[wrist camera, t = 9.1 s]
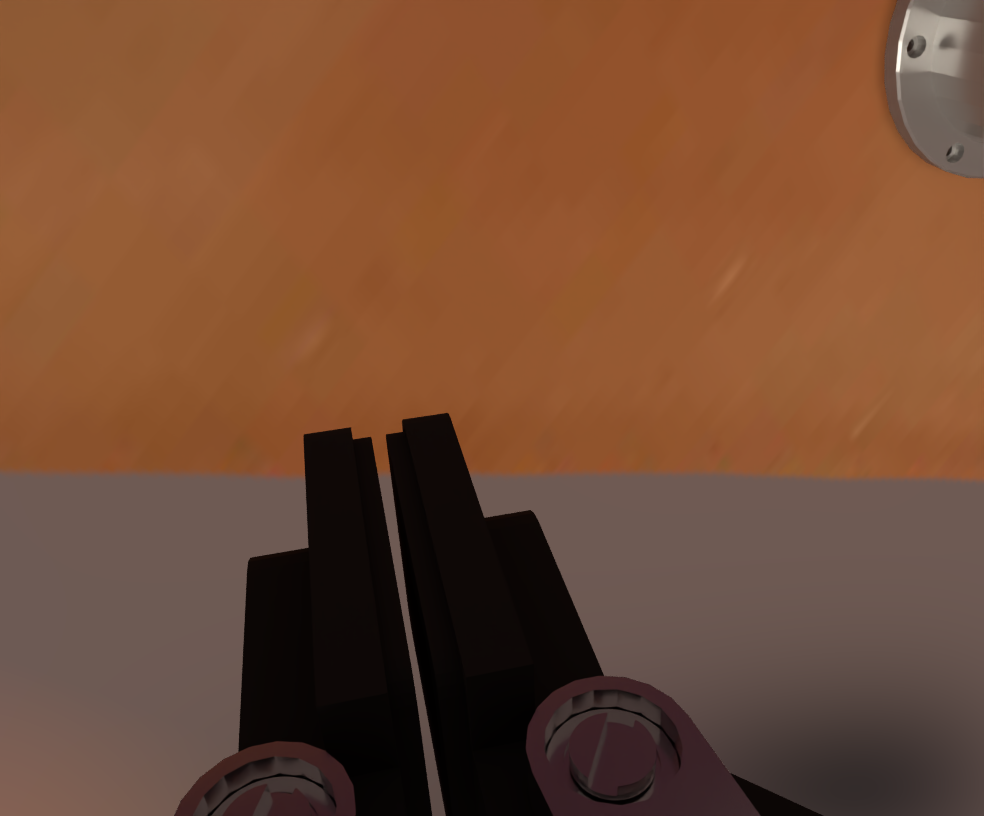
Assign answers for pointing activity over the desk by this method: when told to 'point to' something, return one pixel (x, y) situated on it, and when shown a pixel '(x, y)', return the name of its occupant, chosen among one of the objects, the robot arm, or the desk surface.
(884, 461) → the desk surface
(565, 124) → the desk surface
